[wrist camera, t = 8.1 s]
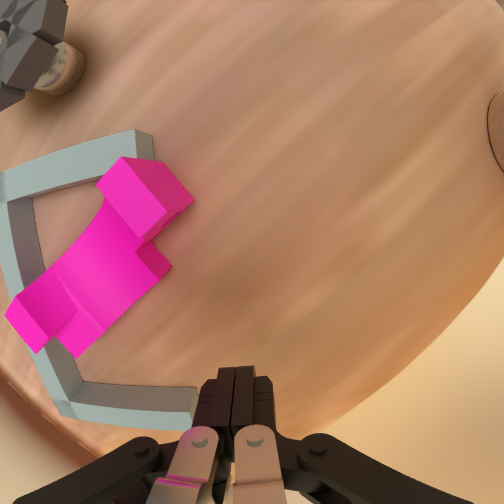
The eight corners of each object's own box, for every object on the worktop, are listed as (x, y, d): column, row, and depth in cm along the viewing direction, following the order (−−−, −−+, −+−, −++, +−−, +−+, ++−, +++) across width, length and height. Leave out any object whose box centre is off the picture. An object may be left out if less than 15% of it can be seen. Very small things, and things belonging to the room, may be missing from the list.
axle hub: (86, 43, 17) (23, 0, 8) (84, 86, 18) (11, 53, 9) (47, 60, 17) (-19, 31, 8) (45, 101, 19) (-30, 83, 9)
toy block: (98, 333, 24) (58, 379, 17) (54, 282, 23) (4, 315, 15) (217, 225, 22) (201, 250, 14) (162, 162, 20) (121, 156, 13)
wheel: (74, -22, 10) (58, -38, 8) (59, 81, 12) (34, 71, 10) (-11, 30, 10) (-30, 23, 8) (-26, 128, 12) (-49, 127, 10)
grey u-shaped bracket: (151, 135, 20) (134, 129, 16) (200, 405, 26) (195, 431, 22) (12, 176, 20) (-13, 178, 17) (74, 396, 26) (61, 415, 22)
